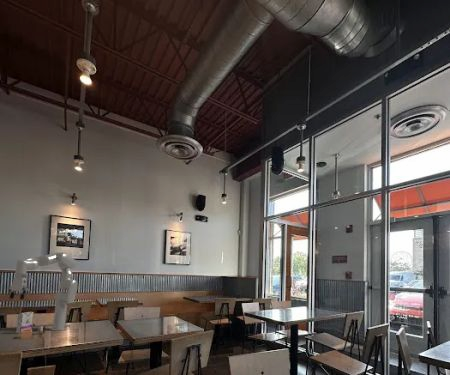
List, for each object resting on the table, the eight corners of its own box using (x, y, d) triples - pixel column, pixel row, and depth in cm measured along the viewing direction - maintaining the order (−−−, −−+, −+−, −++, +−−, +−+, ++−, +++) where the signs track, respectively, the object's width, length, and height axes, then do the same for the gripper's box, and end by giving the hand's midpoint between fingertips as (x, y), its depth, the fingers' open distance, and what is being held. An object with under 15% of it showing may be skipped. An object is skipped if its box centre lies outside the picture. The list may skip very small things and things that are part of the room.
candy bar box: (26, 332, 290) (29, 311, 293) (31, 332, 288) (34, 312, 292) (15, 334, 279) (18, 313, 283) (19, 335, 278) (22, 313, 281)
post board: (46, 334, 284) (47, 324, 285) (46, 339, 266) (47, 329, 268) (18, 336, 275) (19, 326, 277) (15, 341, 258) (17, 330, 259)
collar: (31, 336, 270) (32, 329, 271) (30, 338, 263) (31, 331, 264) (21, 336, 267) (21, 329, 268) (20, 338, 260) (21, 331, 261)
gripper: (33, 276, 276) (29, 299, 272) (15, 275, 280) (11, 297, 277) (25, 276, 269) (21, 300, 265) (7, 275, 273) (3, 298, 270)
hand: (16, 298), depth 271 cm, fingers open, 9 cm apart
